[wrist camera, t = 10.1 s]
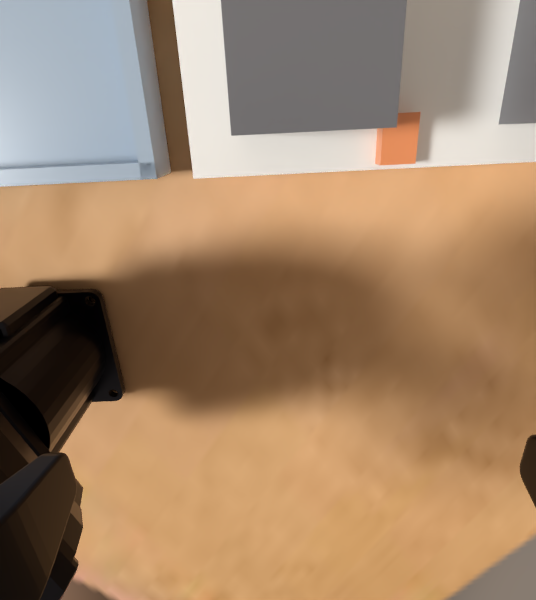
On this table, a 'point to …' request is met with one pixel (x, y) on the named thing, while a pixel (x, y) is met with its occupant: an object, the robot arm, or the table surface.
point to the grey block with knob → (312, 64)
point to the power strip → (412, 99)
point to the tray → (79, 93)
